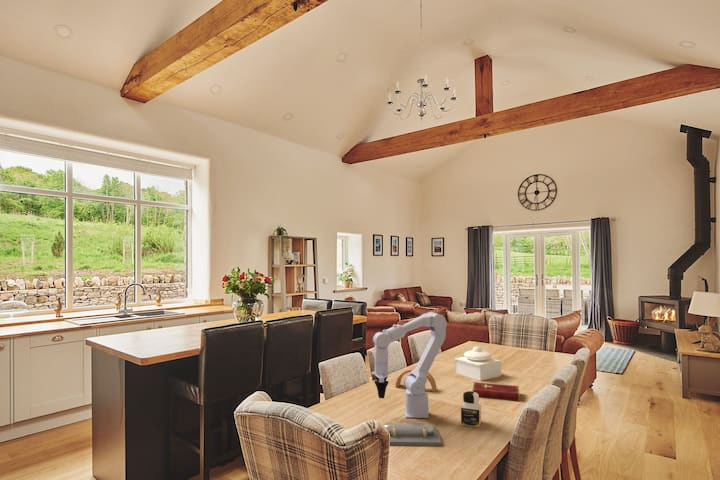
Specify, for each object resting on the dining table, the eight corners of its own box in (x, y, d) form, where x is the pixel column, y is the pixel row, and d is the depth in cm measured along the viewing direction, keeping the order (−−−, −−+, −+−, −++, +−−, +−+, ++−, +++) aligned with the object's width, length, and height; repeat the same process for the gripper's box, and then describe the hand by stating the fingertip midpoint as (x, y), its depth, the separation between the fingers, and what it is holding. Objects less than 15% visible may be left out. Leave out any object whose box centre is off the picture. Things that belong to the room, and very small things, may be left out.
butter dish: (501, 376, 236) (500, 347, 236) (479, 381, 225) (479, 351, 226) (476, 369, 250) (475, 342, 251) (455, 374, 240) (454, 345, 240)
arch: (398, 384, 220) (398, 365, 221) (436, 389, 213) (436, 369, 213) (395, 387, 215) (395, 368, 215) (434, 392, 207) (434, 372, 208)
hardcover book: (519, 402, 194) (519, 393, 195) (472, 397, 201) (472, 388, 201) (518, 394, 206) (518, 385, 206) (474, 389, 212) (473, 381, 213)
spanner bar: (432, 432, 158) (432, 422, 158) (434, 435, 154) (434, 426, 155) (383, 431, 158) (383, 421, 159) (383, 435, 155) (383, 425, 155)
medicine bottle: (461, 425, 167) (460, 394, 168) (463, 418, 174) (463, 389, 174) (479, 427, 165) (479, 396, 165) (481, 420, 171) (480, 391, 172)
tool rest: (436, 429, 163) (436, 419, 163) (441, 445, 149) (441, 434, 149) (379, 428, 164) (379, 418, 164) (379, 444, 150) (379, 433, 150)
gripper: (371, 357, 183) (371, 389, 183) (371, 366, 169) (371, 400, 168) (388, 357, 183) (388, 389, 182) (389, 366, 168) (389, 400, 168)
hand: (381, 394), depth 175 cm, fingers open, 7 cm apart
